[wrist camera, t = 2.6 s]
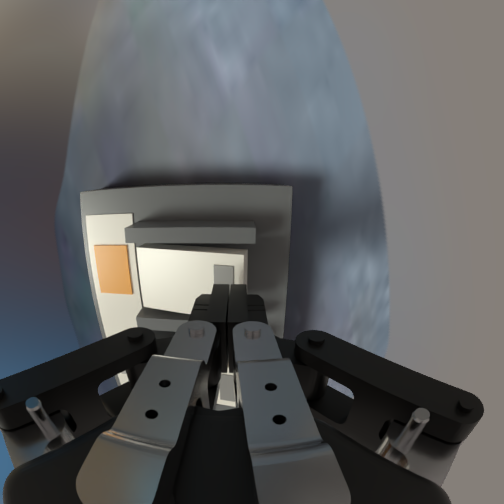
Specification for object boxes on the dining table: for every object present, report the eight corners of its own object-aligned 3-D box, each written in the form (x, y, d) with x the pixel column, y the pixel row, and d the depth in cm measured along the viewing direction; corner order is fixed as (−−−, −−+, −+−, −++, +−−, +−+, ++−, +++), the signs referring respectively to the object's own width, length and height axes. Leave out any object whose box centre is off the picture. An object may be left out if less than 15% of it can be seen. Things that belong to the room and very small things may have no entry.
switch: (145, 242, 15) (135, 247, 14) (247, 249, 14) (243, 255, 13) (151, 299, 16) (143, 307, 15) (246, 312, 15) (243, 321, 14)
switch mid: (158, 344, 17) (151, 353, 16) (246, 359, 16) (242, 370, 15) (166, 382, 18) (160, 391, 17) (245, 398, 17) (242, 408, 16)
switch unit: (101, 188, 17) (62, 195, 12) (284, 184, 18) (300, 188, 13) (148, 421, 24) (137, 456, 19) (267, 428, 24) (271, 465, 19)
